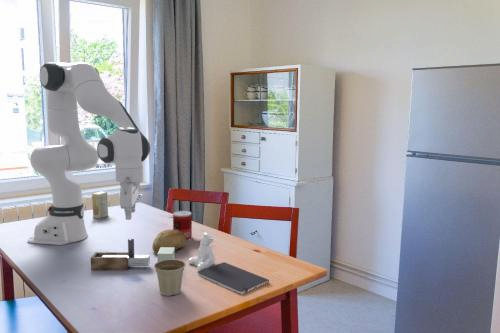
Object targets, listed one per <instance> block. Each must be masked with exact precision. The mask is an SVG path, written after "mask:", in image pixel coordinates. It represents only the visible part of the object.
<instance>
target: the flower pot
mask: <svg viewBox="0 0 500 333" xmlns="http://www.w3.org/2000/svg"><path fill="white" fill-rule="evenodd" d="M186 266H187V264H186V262H185V261H184V260H181V259H177V258H175V259H168V260H162V261H159V262H155V263H154V264H153V268H154V269H155V272H156V275H157V276H156V277H157V282H158V287H159V293H160V294H161V295H163V296H170V297H171V296H172V295H178V294H180V292H181V291H182V290H181V289H182V282H183V275H184V271H185V268H186Z"/></svg>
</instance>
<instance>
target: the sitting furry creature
mask: <svg viewBox="0 0 500 333" xmlns="http://www.w3.org/2000/svg"><path fill="white" fill-rule="evenodd" d="M213 242H214V238H213V236H212V234H210V233H208V232H204V233H202V236H201V238H200V242H199V244H200V245H199V248H198V249H197V250H198V254H197V256H191V257H189V258H188V264H189V265H195V266H196V271H197V272H198V271H200V270H203V269H206V268H209V267H212V266H214V264H215V262H216V260H217V258H216V255H215V253H214V252H213V249H212V247H211V244H212V243H213Z"/></svg>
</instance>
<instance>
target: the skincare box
mask: <svg viewBox="0 0 500 333" xmlns="http://www.w3.org/2000/svg"><path fill="white" fill-rule="evenodd" d="M91 196H92V197H91V198H92V199H91V200H92V217H93V219H103V218H105V217H108V216H109V206H108V192H107V191H103V190H102V191H97V192H94V193H92V194H91Z"/></svg>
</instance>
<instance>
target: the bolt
mask: <svg viewBox="0 0 500 333" xmlns="http://www.w3.org/2000/svg"><path fill="white" fill-rule="evenodd" d="M127 251H128V255H103V256H102V257H127V266H129V267H149V266H150V264H151V262H150V261H151V259H150V258H151V256H150V254H135V240H134V238H128V239H127Z"/></svg>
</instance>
